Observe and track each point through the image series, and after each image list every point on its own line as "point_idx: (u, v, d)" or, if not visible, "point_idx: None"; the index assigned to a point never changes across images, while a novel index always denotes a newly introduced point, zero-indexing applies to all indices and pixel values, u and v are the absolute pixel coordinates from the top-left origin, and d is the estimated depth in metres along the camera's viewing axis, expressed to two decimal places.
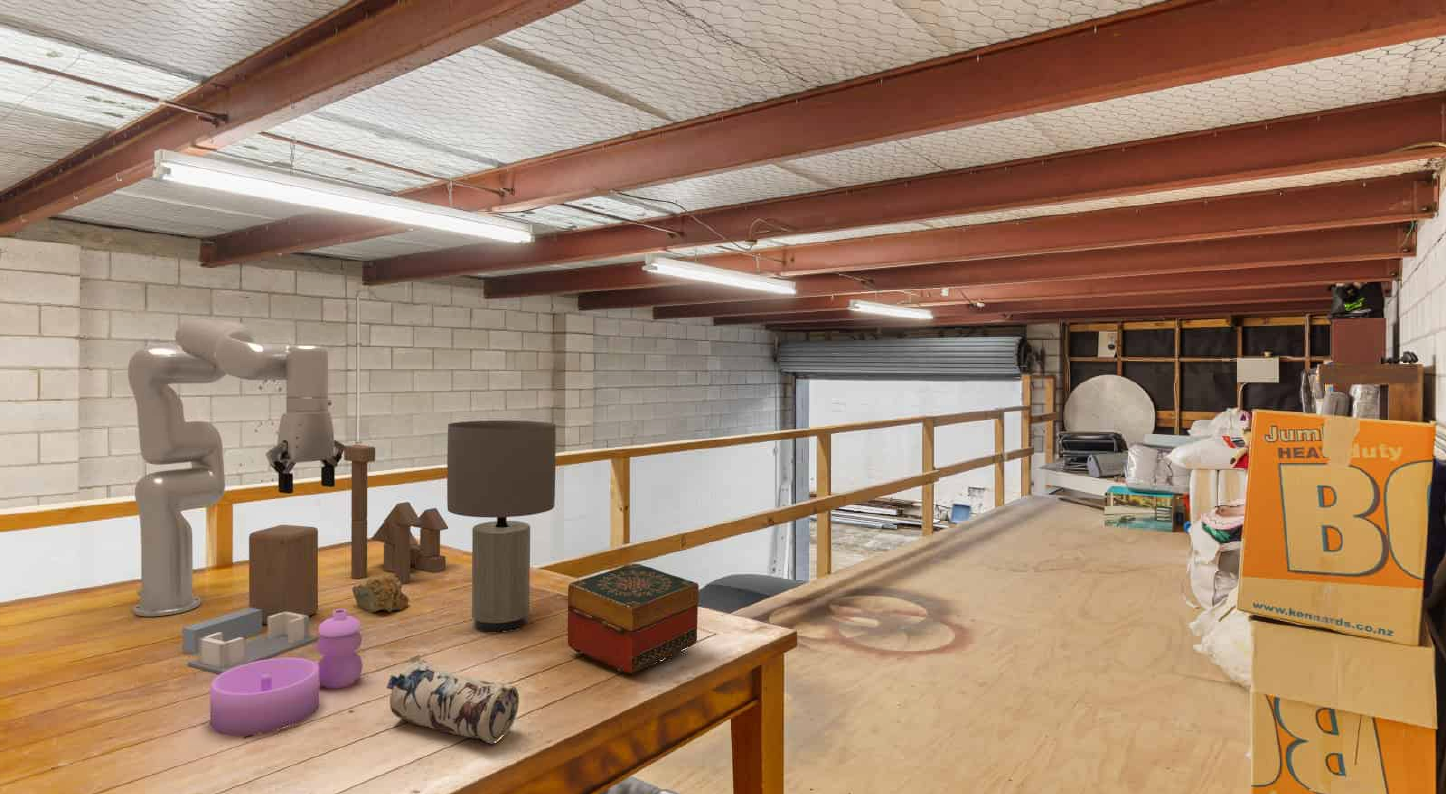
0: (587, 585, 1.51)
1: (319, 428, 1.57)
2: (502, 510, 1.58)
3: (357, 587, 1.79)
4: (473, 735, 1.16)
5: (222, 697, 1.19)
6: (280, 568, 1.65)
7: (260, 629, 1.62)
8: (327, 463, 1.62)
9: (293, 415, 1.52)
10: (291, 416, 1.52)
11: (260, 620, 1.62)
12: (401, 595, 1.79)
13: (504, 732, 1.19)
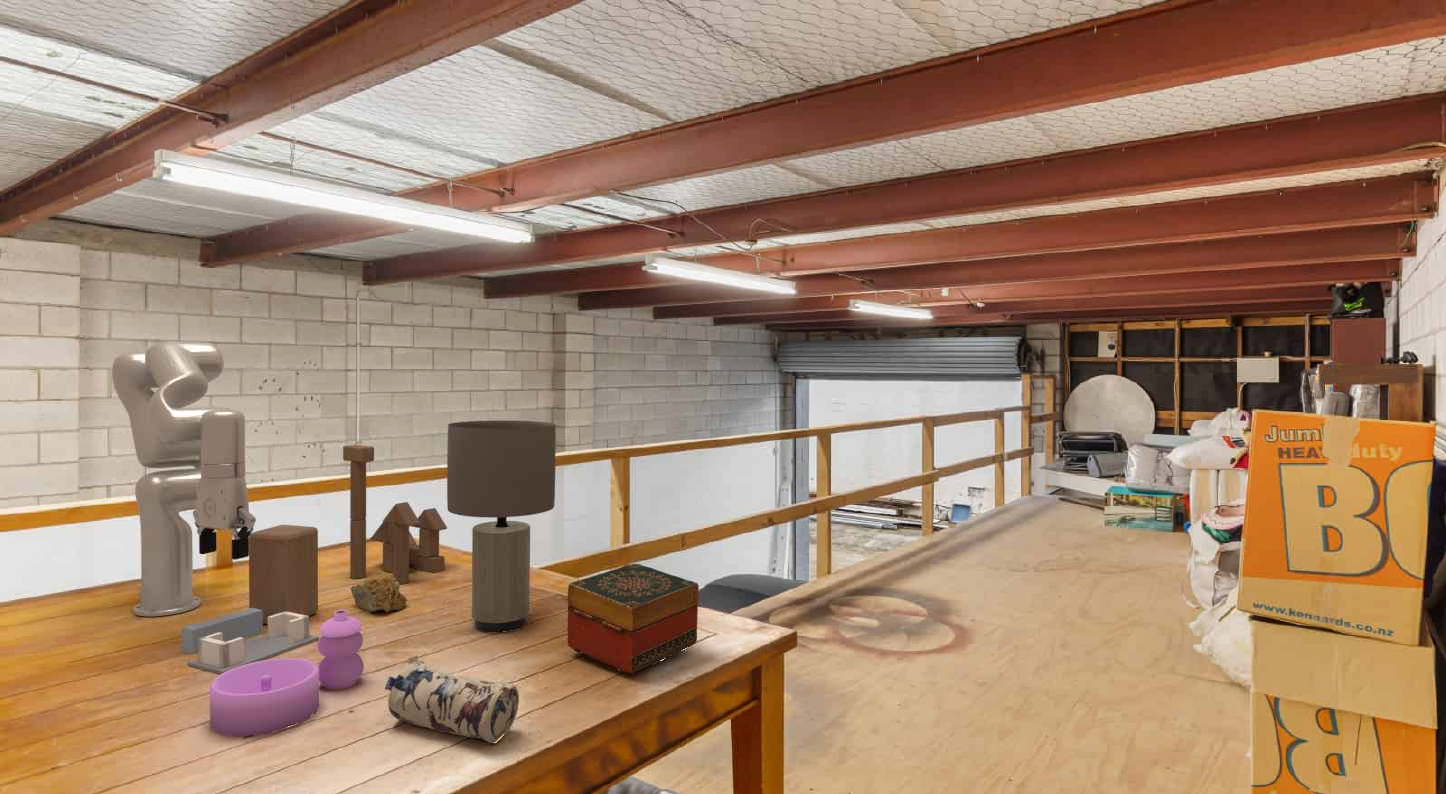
0: (587, 585, 1.51)
1: None
2: (502, 510, 1.58)
3: (355, 587, 1.79)
4: (474, 735, 1.16)
5: (221, 698, 1.18)
6: (280, 568, 1.65)
7: (261, 629, 1.62)
8: (206, 529, 1.57)
9: (243, 480, 1.55)
10: (242, 481, 1.54)
11: (261, 620, 1.62)
12: (399, 595, 1.79)
13: (505, 731, 1.19)
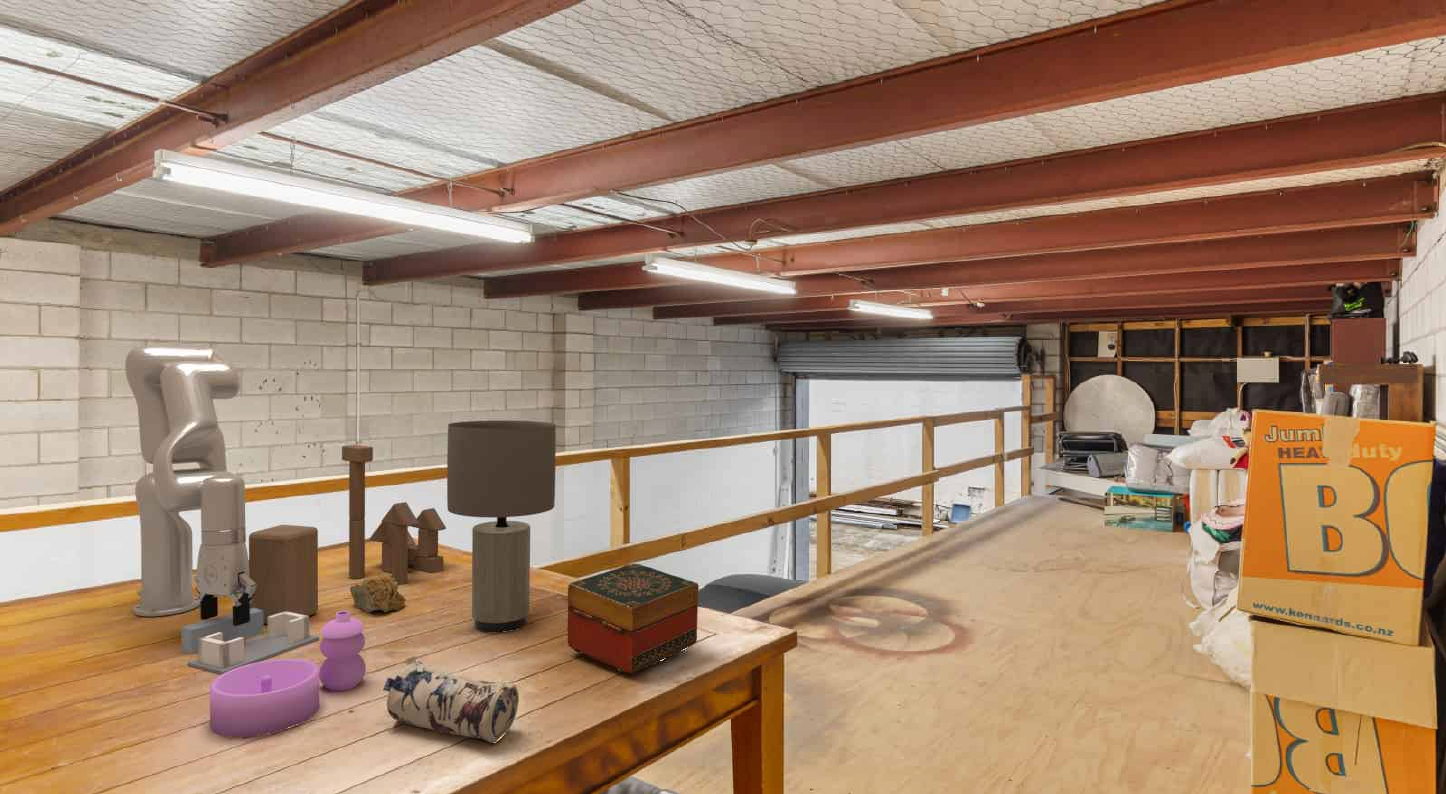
0: (587, 585, 1.51)
1: None
2: (502, 510, 1.58)
3: (354, 587, 1.79)
4: (474, 735, 1.16)
5: (220, 698, 1.18)
6: (280, 568, 1.65)
7: (261, 630, 1.62)
8: (208, 595, 1.58)
9: (244, 545, 1.55)
10: (242, 547, 1.55)
11: (261, 621, 1.62)
12: (397, 595, 1.79)
13: (505, 731, 1.19)
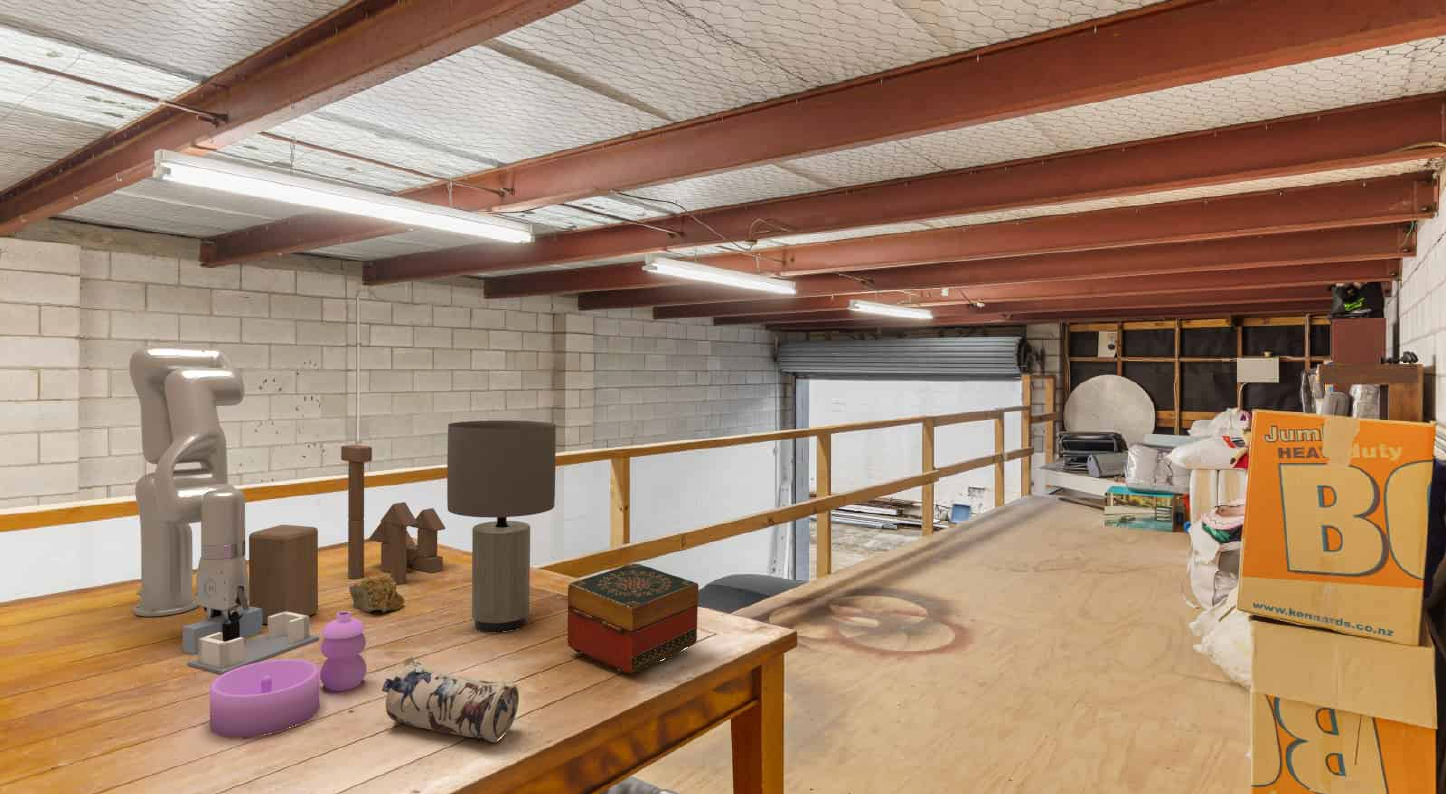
0: (587, 585, 1.51)
1: None
2: (502, 510, 1.58)
3: (353, 586, 1.79)
4: (476, 734, 1.17)
5: (219, 698, 1.18)
6: (280, 568, 1.65)
7: (260, 628, 1.62)
8: (215, 613, 1.57)
9: (243, 559, 1.56)
10: (242, 561, 1.55)
11: (260, 619, 1.62)
12: (396, 595, 1.79)
13: (505, 730, 1.20)
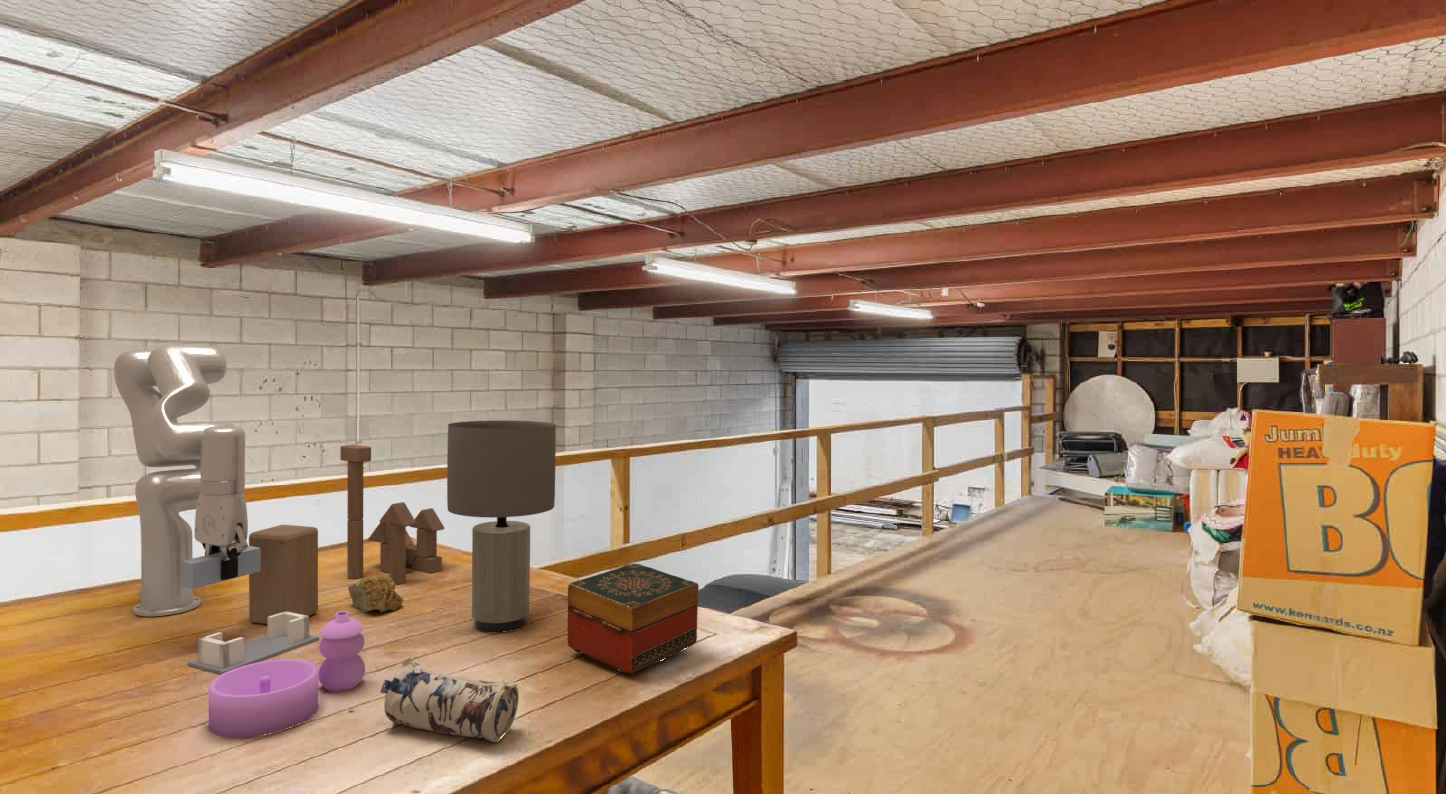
0: (587, 585, 1.51)
1: None
2: (502, 510, 1.58)
3: (352, 586, 1.79)
4: (476, 734, 1.17)
5: (218, 699, 1.18)
6: (280, 568, 1.65)
7: (259, 567, 1.62)
8: (213, 550, 1.57)
9: (243, 496, 1.55)
10: (241, 498, 1.55)
11: (259, 558, 1.62)
12: (394, 595, 1.79)
13: (506, 730, 1.20)
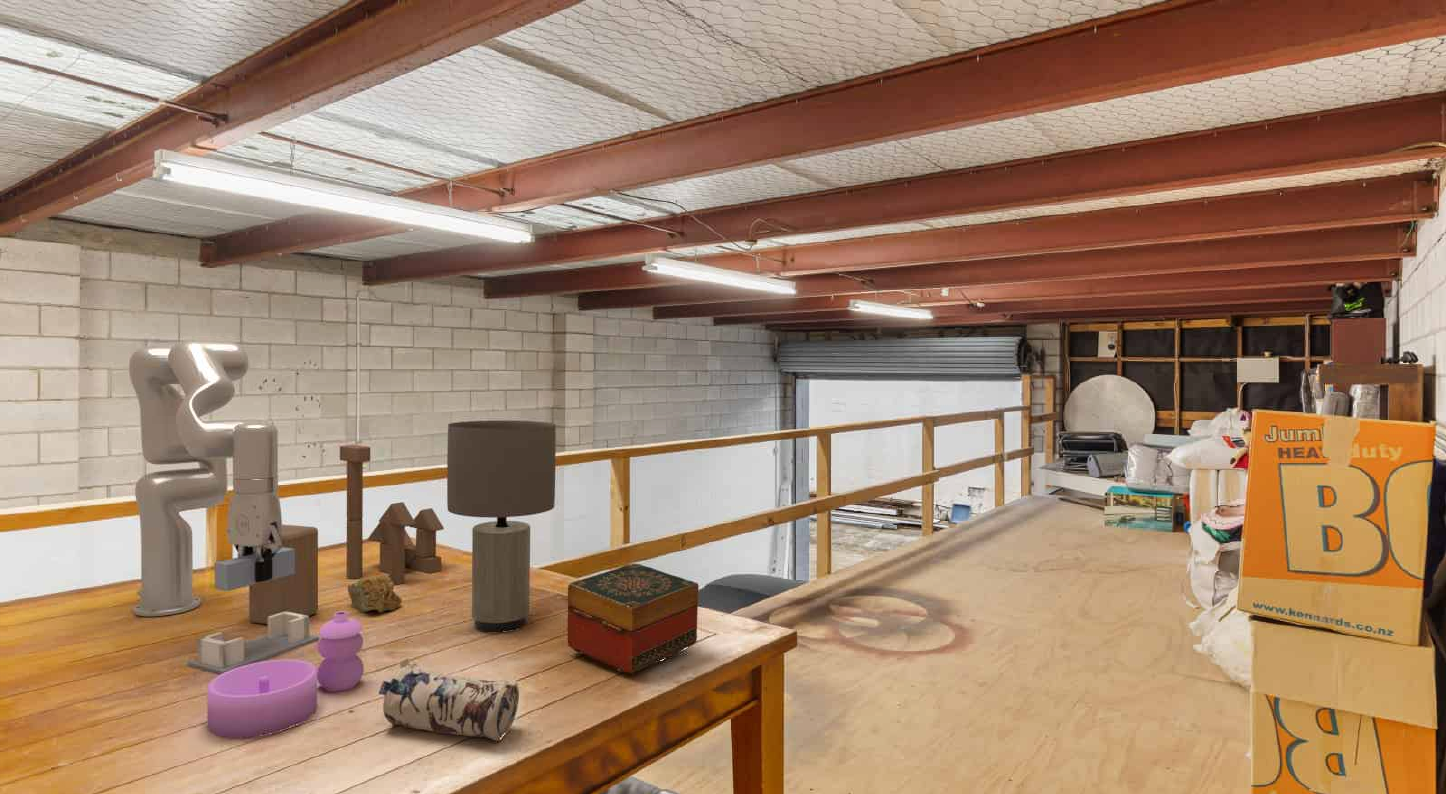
0: (587, 585, 1.51)
1: None
2: (502, 510, 1.58)
3: (351, 586, 1.79)
4: (478, 733, 1.17)
5: (217, 699, 1.18)
6: None
7: (293, 569, 1.56)
8: (247, 552, 1.51)
9: (276, 495, 1.50)
10: (275, 496, 1.49)
11: (293, 560, 1.56)
12: (393, 596, 1.79)
13: (507, 729, 1.20)
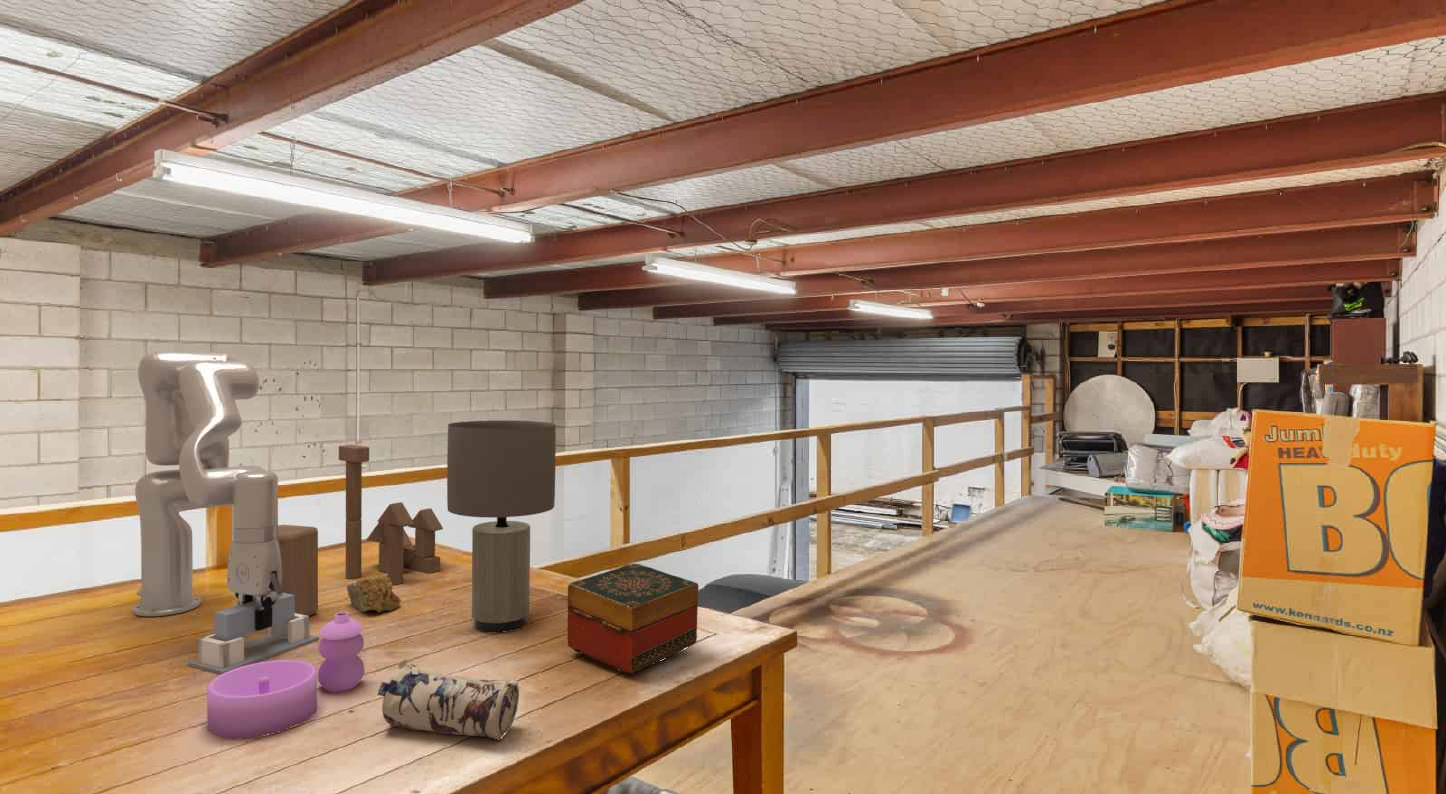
0: (587, 585, 1.51)
1: None
2: (502, 510, 1.58)
3: (350, 586, 1.79)
4: (480, 733, 1.17)
5: (217, 699, 1.18)
6: None
7: (293, 615, 1.57)
8: (247, 599, 1.52)
9: (276, 543, 1.50)
10: (275, 545, 1.50)
11: (293, 606, 1.57)
12: (392, 596, 1.79)
13: (507, 728, 1.21)
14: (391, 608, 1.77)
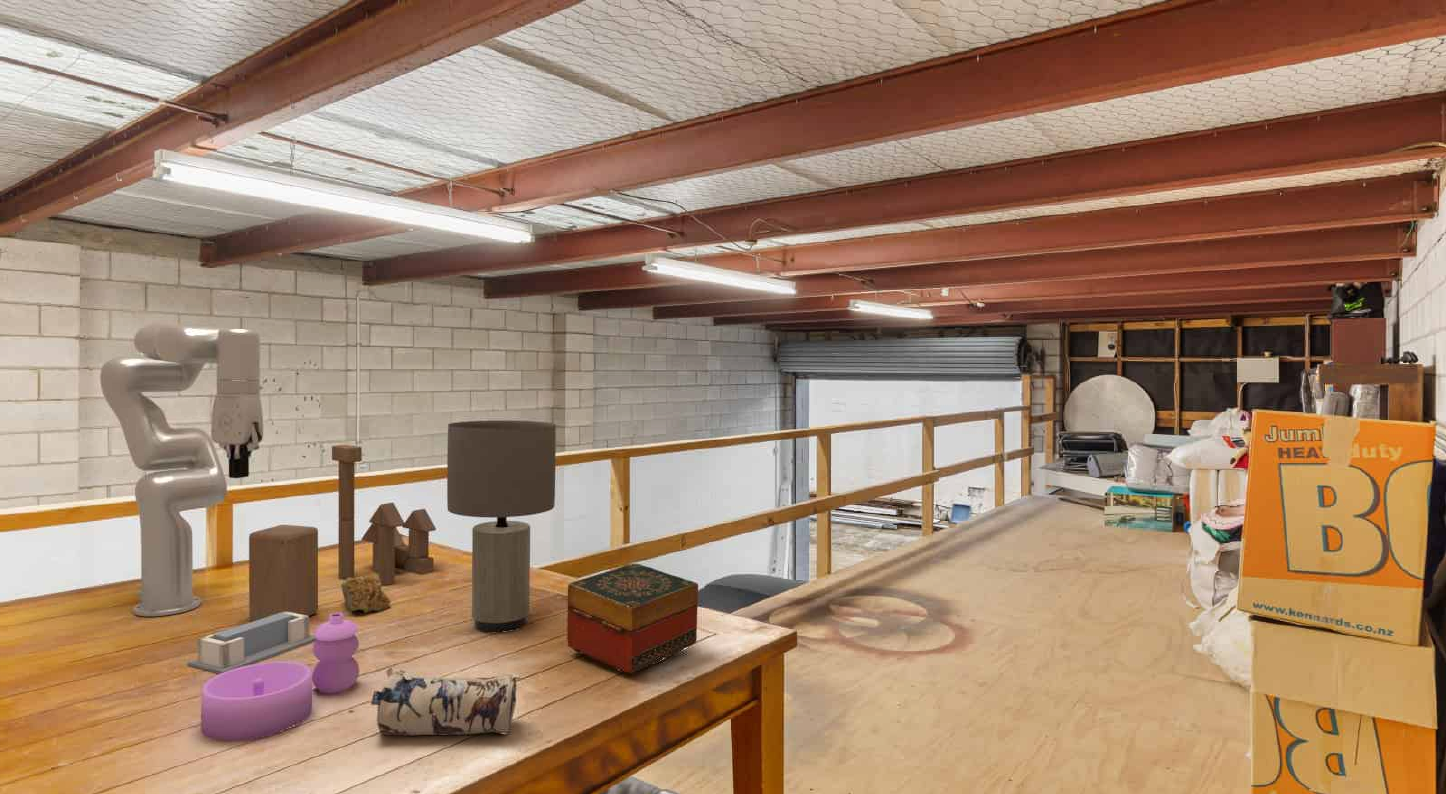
0: (587, 585, 1.51)
1: None
2: (502, 510, 1.58)
3: (342, 585, 1.80)
4: (488, 729, 1.18)
5: (211, 701, 1.17)
6: (281, 568, 1.65)
7: None
8: (235, 451, 1.59)
9: (258, 397, 1.58)
10: (257, 398, 1.58)
11: None
12: (380, 596, 1.78)
13: (510, 722, 1.23)
14: (378, 609, 1.77)
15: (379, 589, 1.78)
